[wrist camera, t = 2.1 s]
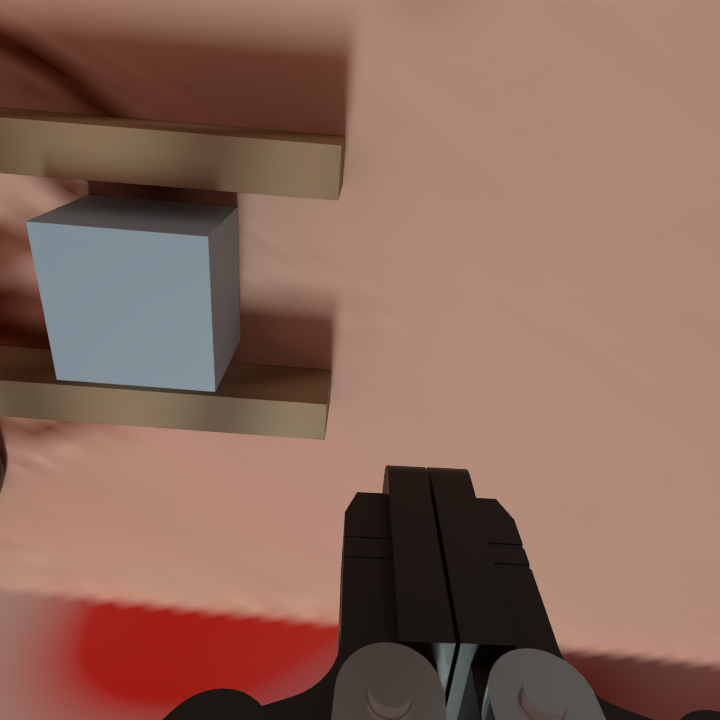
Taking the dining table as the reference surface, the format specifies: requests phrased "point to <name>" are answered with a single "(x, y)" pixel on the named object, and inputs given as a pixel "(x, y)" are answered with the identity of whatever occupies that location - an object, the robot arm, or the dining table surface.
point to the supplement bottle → (1, 474)
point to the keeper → (139, 290)
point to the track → (183, 170)
